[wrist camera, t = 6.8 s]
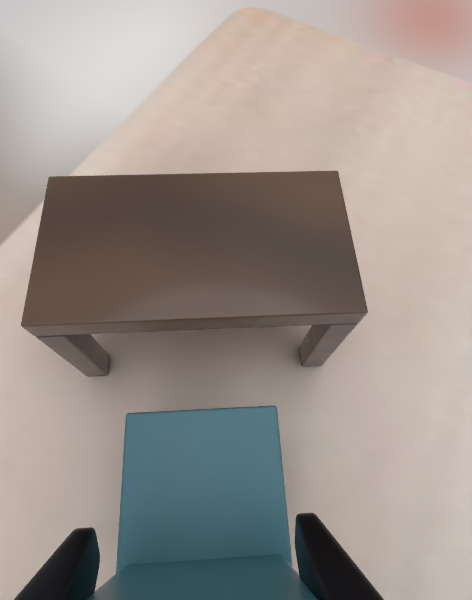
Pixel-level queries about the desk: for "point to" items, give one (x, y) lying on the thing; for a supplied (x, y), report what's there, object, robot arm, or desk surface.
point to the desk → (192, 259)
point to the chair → (203, 509)
